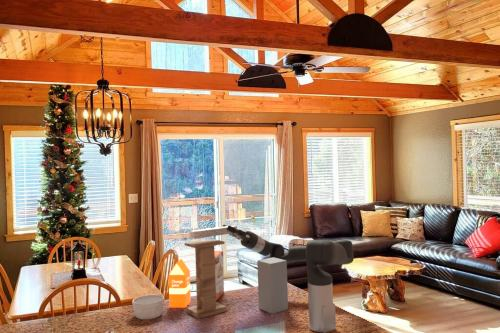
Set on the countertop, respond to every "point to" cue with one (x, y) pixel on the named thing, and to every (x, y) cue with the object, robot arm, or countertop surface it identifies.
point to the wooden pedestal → (205, 279)
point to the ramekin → (148, 306)
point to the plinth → (272, 285)
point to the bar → (210, 232)
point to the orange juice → (179, 285)
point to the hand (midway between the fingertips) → (225, 227)
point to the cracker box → (219, 273)
